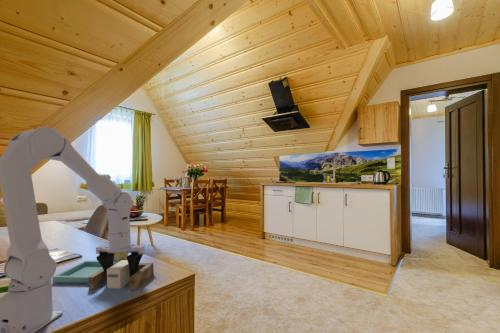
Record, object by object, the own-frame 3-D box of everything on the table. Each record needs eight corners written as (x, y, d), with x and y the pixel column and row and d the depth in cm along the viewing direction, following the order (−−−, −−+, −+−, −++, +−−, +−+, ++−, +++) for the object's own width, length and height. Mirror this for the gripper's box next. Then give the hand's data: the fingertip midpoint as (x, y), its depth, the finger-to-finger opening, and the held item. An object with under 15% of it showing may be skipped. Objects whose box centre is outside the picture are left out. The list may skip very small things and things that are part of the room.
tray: (91, 284, 75) (91, 277, 75) (52, 283, 76) (52, 277, 76) (119, 266, 87) (119, 260, 87) (85, 266, 89) (85, 260, 89)
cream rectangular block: (118, 289, 71) (118, 270, 71) (105, 289, 71) (105, 270, 71) (134, 277, 78) (133, 260, 78) (122, 277, 79) (121, 260, 79)
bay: (134, 290, 70) (134, 277, 70) (88, 289, 71) (88, 277, 71) (153, 274, 80) (153, 263, 80) (113, 273, 82) (112, 262, 82)
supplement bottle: (130, 257, 96) (129, 230, 96) (125, 262, 91) (123, 234, 91) (115, 258, 96) (114, 231, 96) (108, 264, 90) (107, 235, 90)
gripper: (149, 228, 78) (151, 271, 78) (106, 228, 80) (108, 271, 80) (136, 234, 71) (138, 282, 71) (89, 234, 73) (91, 281, 73)
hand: (121, 277), depth 75 cm, fingers open, 7 cm apart
